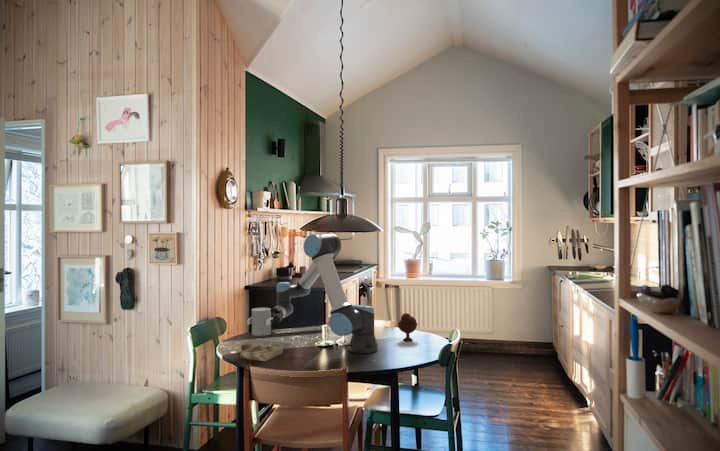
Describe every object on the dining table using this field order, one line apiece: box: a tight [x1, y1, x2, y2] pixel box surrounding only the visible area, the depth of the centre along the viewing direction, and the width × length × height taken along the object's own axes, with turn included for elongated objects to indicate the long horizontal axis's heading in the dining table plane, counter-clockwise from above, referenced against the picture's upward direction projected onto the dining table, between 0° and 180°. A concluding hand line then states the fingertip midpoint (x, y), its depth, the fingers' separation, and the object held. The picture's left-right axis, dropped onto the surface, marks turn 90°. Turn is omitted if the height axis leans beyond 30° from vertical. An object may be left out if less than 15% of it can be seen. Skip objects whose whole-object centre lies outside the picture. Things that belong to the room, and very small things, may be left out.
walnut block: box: [240, 342, 252, 352], centre depth 251 cm, size 4×4×4 cm
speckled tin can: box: [251, 307, 272, 337], centre depth 243 cm, size 10×10×12 cm
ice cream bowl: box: [397, 312, 418, 343], centre depth 270 cm, size 11×11×15 cm
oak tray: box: [239, 344, 284, 362], centre depth 243 cm, size 15×15×3 cm
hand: (257, 322), depth 239 cm, fingers closed on speckled tin can, 9 cm apart
